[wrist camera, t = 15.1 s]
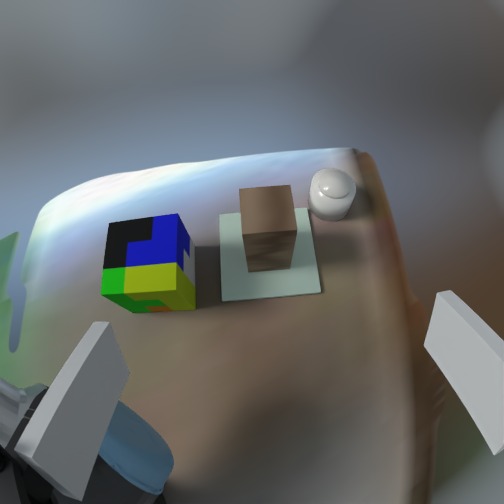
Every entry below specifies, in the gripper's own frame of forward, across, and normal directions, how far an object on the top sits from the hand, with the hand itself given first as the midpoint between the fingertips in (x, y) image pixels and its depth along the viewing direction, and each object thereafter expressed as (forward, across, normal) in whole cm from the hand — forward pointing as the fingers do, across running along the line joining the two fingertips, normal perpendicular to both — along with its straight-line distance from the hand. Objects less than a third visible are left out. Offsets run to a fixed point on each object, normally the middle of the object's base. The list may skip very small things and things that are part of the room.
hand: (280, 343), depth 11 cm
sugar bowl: (+38, +12, -4) cm, 40 cm away
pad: (+33, +1, -9) cm, 34 cm away
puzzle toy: (+31, -15, -12) cm, 36 cm away
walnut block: (+32, +1, -9) cm, 33 cm away
